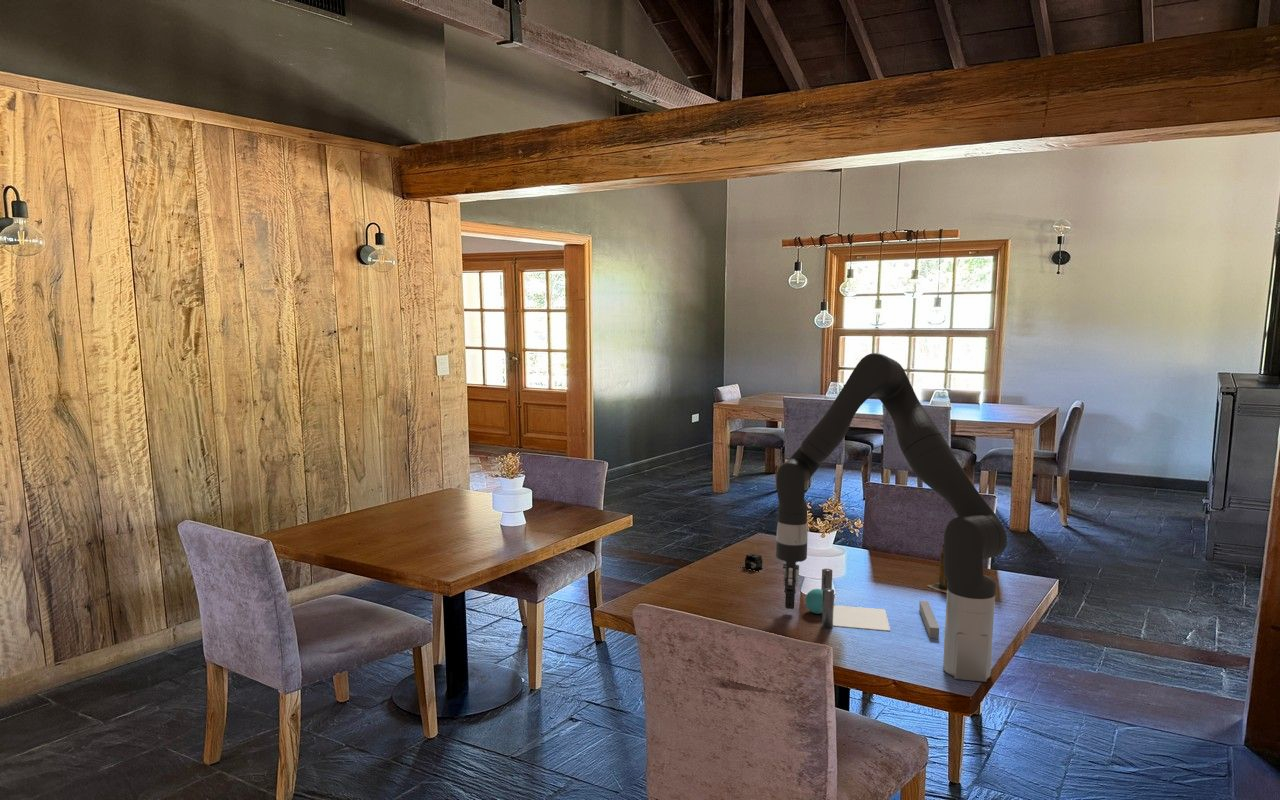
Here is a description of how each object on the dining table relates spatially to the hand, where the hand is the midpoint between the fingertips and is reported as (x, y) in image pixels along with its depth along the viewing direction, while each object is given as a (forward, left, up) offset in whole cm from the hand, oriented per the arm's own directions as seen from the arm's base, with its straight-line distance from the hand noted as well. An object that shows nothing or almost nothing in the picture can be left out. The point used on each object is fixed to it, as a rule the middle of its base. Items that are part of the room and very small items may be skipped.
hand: (789, 607), depth 199 cm
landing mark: (+1, -16, -2) cm, 17 cm away
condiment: (+30, -42, -2) cm, 52 cm away
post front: (-7, -9, -2) cm, 11 cm away
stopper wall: (+1, -33, -2) cm, 33 cm away
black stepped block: (+34, +11, -2) cm, 36 cm away
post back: (+9, -9, -2) cm, 13 cm away
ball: (+2, -7, +2) cm, 7 cm away
